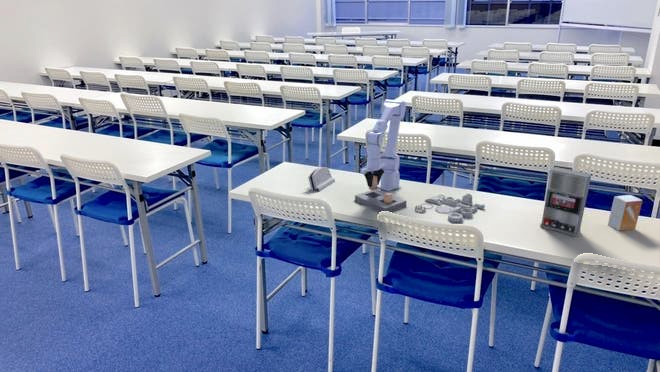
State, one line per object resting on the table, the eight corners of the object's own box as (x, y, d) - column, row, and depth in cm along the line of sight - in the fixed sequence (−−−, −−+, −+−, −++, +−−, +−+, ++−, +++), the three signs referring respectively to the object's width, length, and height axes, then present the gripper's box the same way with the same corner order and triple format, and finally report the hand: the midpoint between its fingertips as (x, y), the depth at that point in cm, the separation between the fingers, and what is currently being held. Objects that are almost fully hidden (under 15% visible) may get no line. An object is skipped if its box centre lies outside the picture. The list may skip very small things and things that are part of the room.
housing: (354, 200, 222) (354, 195, 222) (376, 193, 231) (376, 188, 230) (384, 213, 208) (385, 208, 207) (406, 205, 216) (406, 200, 215)
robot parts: (408, 211, 213) (409, 200, 211) (437, 195, 230) (438, 185, 228) (458, 226, 197) (459, 215, 195) (485, 208, 214) (486, 197, 212)
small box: (619, 231, 190) (626, 202, 186) (607, 224, 196) (613, 196, 191) (635, 229, 192) (643, 200, 187) (623, 222, 198) (630, 194, 193)
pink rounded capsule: (373, 186, 224) (373, 174, 221) (379, 188, 221) (379, 176, 218) (367, 188, 221) (367, 176, 219) (372, 190, 218) (372, 178, 216)
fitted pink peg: (387, 203, 218) (388, 191, 216) (394, 206, 215) (394, 194, 213) (381, 206, 216) (382, 193, 214) (387, 208, 213) (388, 196, 211)
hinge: (319, 191, 233) (313, 172, 231) (311, 193, 236) (305, 174, 234) (335, 181, 247) (329, 163, 245) (328, 182, 249) (322, 165, 247)
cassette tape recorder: (539, 227, 194) (549, 170, 185) (544, 222, 198) (554, 166, 190) (575, 237, 186) (587, 178, 177) (580, 232, 190) (592, 174, 181)
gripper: (379, 152, 223) (378, 179, 227) (356, 158, 214) (356, 186, 219) (389, 156, 217) (388, 183, 222) (367, 162, 209) (366, 190, 214)
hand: (373, 185), depth 220 cm, fingers closed on pink rounded capsule, 4 cm apart
